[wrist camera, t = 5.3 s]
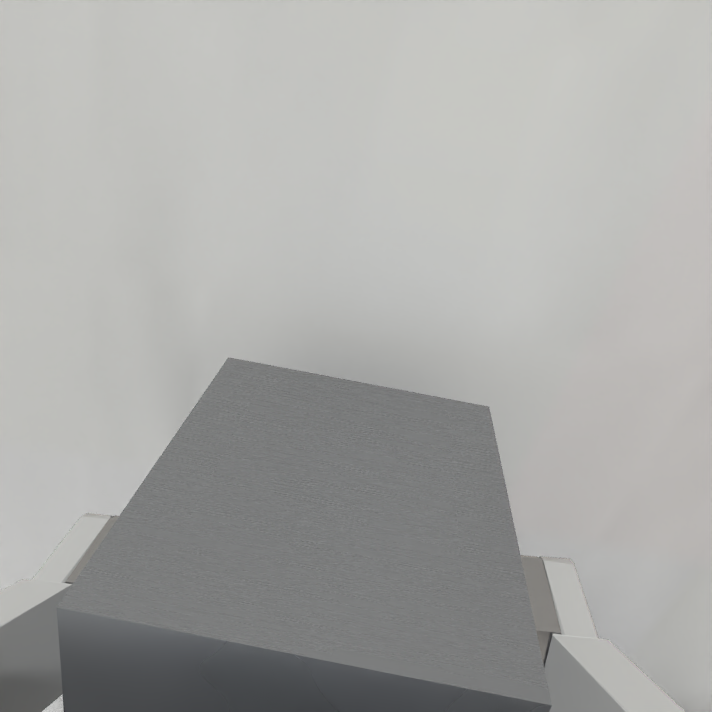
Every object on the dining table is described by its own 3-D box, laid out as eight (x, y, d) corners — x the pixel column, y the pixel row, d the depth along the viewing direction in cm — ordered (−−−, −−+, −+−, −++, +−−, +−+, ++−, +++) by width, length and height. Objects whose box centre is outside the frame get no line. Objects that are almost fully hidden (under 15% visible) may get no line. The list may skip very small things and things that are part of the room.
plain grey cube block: (432, 598, 14) (440, 948, 8) (212, 555, 14) (74, 873, 8) (488, 406, 11) (551, 705, 6) (228, 357, 11) (56, 607, 6)
